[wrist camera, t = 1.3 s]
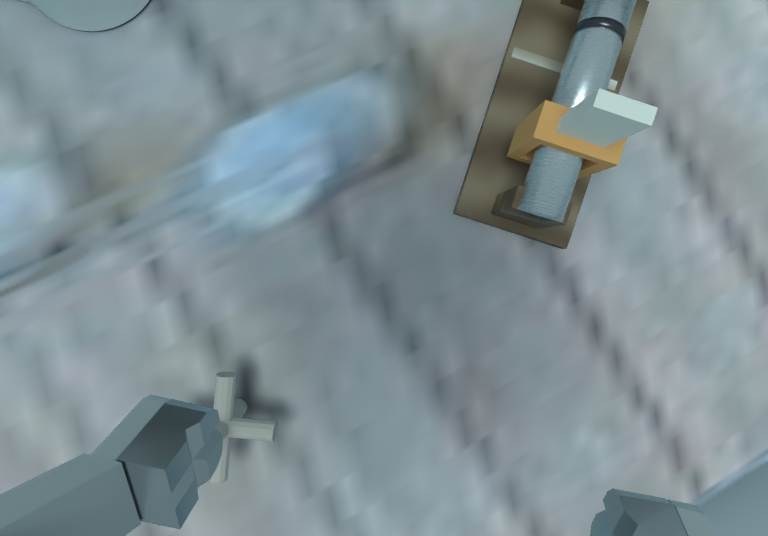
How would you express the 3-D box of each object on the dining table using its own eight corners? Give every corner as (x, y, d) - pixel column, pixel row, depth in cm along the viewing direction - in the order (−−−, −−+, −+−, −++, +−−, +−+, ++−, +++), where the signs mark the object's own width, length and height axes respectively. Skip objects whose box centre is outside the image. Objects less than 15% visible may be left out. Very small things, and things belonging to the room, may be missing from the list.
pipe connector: (290, 365, 46) (265, 397, 36) (281, 457, 46) (255, 514, 36) (195, 356, 46) (144, 385, 36) (187, 449, 46) (134, 503, 36)
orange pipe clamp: (577, 179, 41) (669, 146, 28) (506, 156, 41) (566, 112, 28) (587, 148, 41) (684, 101, 28) (516, 125, 41) (581, 67, 28)
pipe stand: (561, 248, 46) (600, 248, 38) (453, 213, 45) (469, 205, 37) (642, 8, 45) (699, -45, 37) (532, -30, 45) (565, -91, 37)
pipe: (551, 224, 40) (571, 221, 36) (509, 210, 40) (524, 206, 35) (637, -33, 39) (667, -66, 35) (594, -47, 39) (619, -83, 35)
